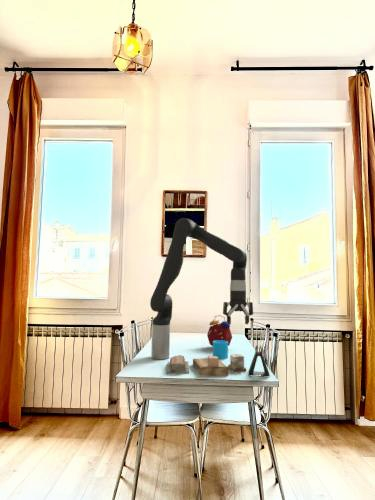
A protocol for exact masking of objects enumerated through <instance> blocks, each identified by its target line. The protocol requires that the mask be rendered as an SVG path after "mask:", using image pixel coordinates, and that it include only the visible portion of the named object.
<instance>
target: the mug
mask: <svg viewBox="0 0 375 500" xmlns="http://www.w3.org/2000/svg"><path fill="white" fill-rule="evenodd" d="M212 356H217V357H218V358H219V360H226V359H228V358H229V346H228V341H222V340H216V341H213V346H212Z"/></svg>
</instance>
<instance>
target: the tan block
mask: <svg viewBox="0 0 375 500" xmlns="http://www.w3.org/2000/svg"><path fill="white" fill-rule="evenodd" d="M227 366H228V369H230V370H231V371H232V372H233V373H245V372H247V367H245V355H243V354H239V353H232V354H231V353H230V364H228V365H227Z"/></svg>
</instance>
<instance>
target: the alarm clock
mask: <svg viewBox="0 0 375 500" xmlns="http://www.w3.org/2000/svg"><path fill="white" fill-rule="evenodd" d="M217 317H222V318H223V321H222V322H221V323H220V322H219V321H220V320H219V319H218V320H216V318H217ZM225 319H226V317H225V316H223V315H220V314H219V315H215V316H214V319H212V321H210V322H209V328H208V332H207V334H206V336H207V339H208V344H209V345H210V346H211V347H213V341H216V340H222V341H228V347H229V346H230V345H231V341H232V340H233V335H232V332H231V328H230V327H231V326H230V325H231V324H228V323H227V320H225Z"/></svg>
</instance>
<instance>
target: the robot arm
mask: <svg viewBox="0 0 375 500" xmlns="http://www.w3.org/2000/svg"><path fill="white" fill-rule="evenodd" d="M187 238H192V239H194V240H197V241H199V242H201V243H202V244H204V245H205V246H206V247H208V248H209V249H211V250H213V251H214V252H216V253H218V254H219V255H222V256H223V257H225V258H227V259H228V260H229V261H231V262H232V268H231V270H230V284H229V293H230V294H229V297H230V298H229V302H227V301H224V302H223V305H222V307H223V308H222V314H223V315H224V316H226V321H227V323H228V324H230V325H231V324H232V323H231V322H232V317H231V316H232V315H233V313H234V312H242V313H243V314H244V324H245V325H249V323H250V316H253V315H254V307H253V305H254V304H253V302H251V301H248V302H247V282H246V268H247V260H248V259H247V258H248V257H247V256H248V255H247V252H246V251H245V250H244V249H242V248H240V247H238V246H235V245H233V244H230V243H229V241H227V240H225V239H223V238H221V237H220V236H217V235H215V234H213V233H211V232H209V231H207V230H206V229H204V228H202V227H201V226H200V225H198V223H197V222H194V221H193V220H192V219H189V218H185V217H182V218H179V219H177V221H176V223H175V225H174V229H173V234H172V238H171V243H170V246H169V248H168V250H167V251H168V252H167V253H166V258H165V260H164V263H163V265H162V266H163V267H162V269H161V273H160V276H159V278H158V281H157V284H156V286H155V289H154V291H153V294H152V296H151V297H150V301H149V305H150V309H151V310H152V311H153V312H156V313H157V314H156V316H155V317H154V318H152V331H151V333H152V338H151V354H150V355H151V359H154V360H168V359H169V358H170V347H171V346H170V344H171V343H170V342H171V341H170V340H171V339H170V337H171V335H170V334H171V320H172V316H173V299H172V296H171V295H170V294H169V293H168V291H169V289H170V287H171V286H172V285H173V283H174V282H175V281H176V279H177V278H178V277H179V275H180V273H181V269H182V267H183V263H184V247H185V244H186V241H187ZM229 306H230V308H229V309H228V307H229ZM246 307H248V310H247V308H246Z"/></svg>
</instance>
